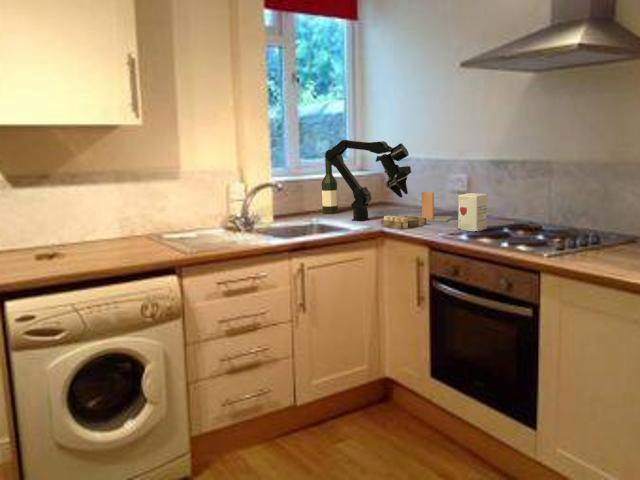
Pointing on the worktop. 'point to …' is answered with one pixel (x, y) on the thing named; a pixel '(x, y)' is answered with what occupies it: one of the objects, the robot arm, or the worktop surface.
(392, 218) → the ash offcut
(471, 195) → the supplement box
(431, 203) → the orange rectangular block
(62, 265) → the worktop surface
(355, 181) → the robot arm
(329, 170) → the wine bottle
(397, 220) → the oak offcut
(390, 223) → the walnut rack
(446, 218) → the slate tile
